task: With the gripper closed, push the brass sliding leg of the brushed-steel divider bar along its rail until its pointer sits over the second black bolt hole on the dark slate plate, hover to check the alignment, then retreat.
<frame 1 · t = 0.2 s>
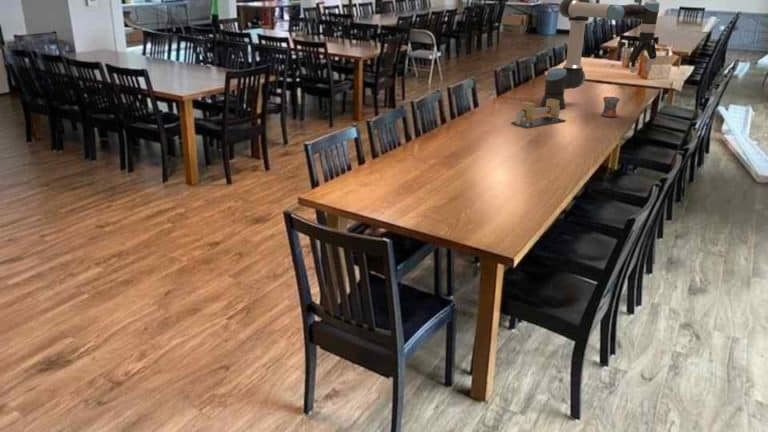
hand: (640, 71, 336), 28 cm above the table, fingers open, 13 cm apart
sliding leg: (552, 109, 344), point 7 cm above the table, slide at 5.0 cm
mug: (609, 116, 360), on the table
hole plate: (538, 122, 341), on the table
dividers bar: (537, 122, 342), resting on hole plate
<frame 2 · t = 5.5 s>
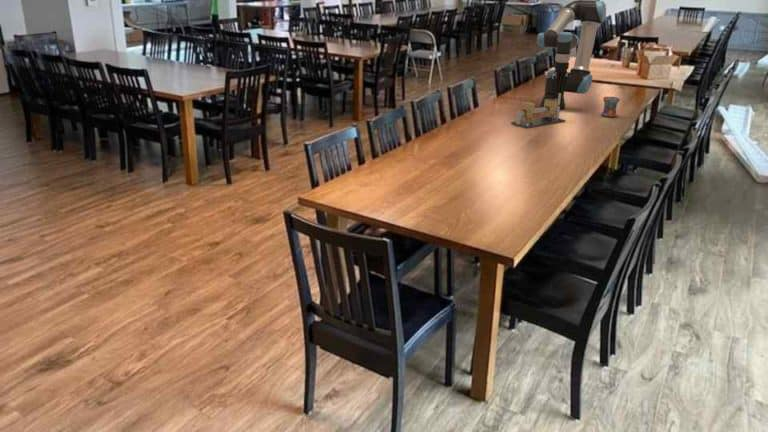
hand: (556, 104, 342), 10 cm above the table, fingers closed
sliding leg: (551, 109, 343), point 7 cm above the table, slide at 3.5 cm, touching gripper
everything else where it was.
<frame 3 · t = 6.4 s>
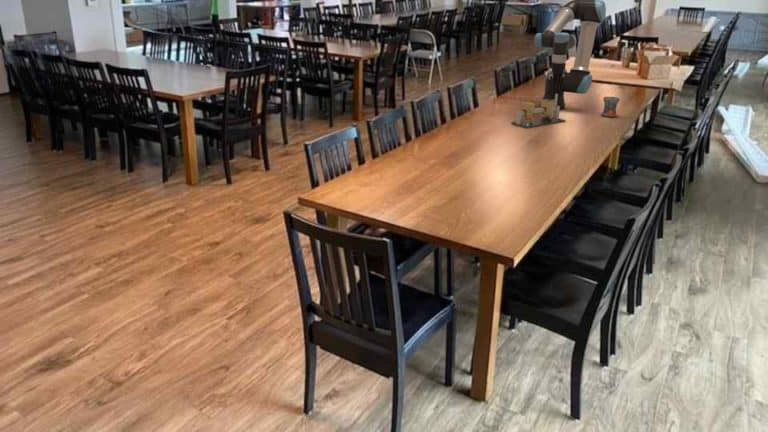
hand: (553, 105, 341), 9 cm above the table, fingers closed
sliding leg: (547, 109, 342), point 7 cm above the table, slide at 1.1 cm, touching gripper
everything else where it was.
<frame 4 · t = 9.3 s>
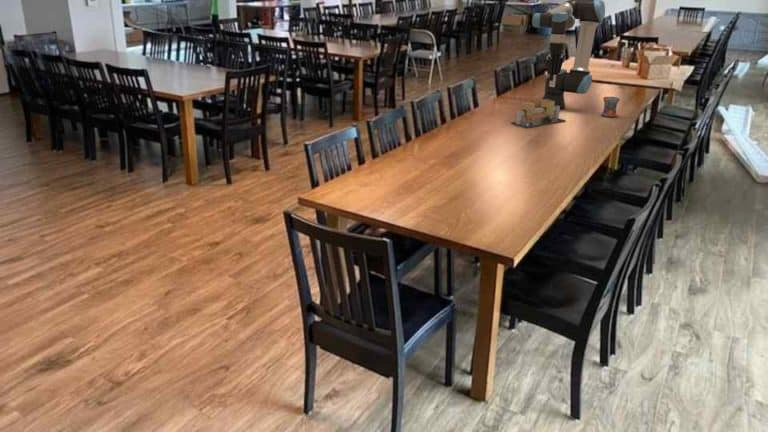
hand: (552, 86, 333), 20 cm above the table, fingers closed
sliding leg: (547, 109, 342), point 7 cm above the table, slide at 1.1 cm
everything else where it was.
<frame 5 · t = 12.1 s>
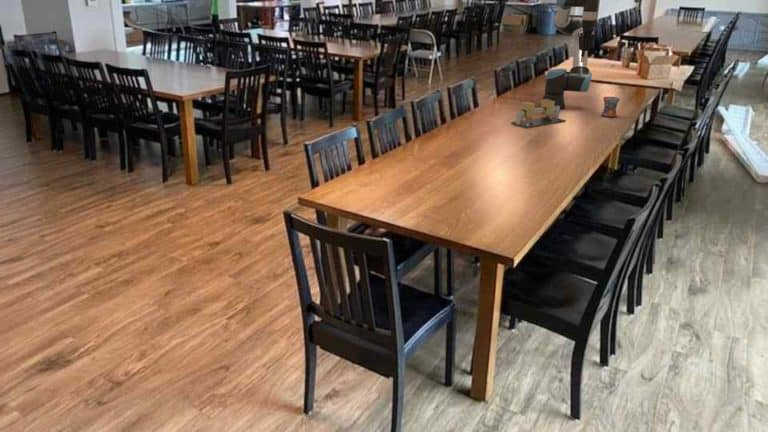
hand: (583, 62, 350), 30 cm above the table, fingers closed
nothing on the table moved.
at the end: sliding leg slide at 1.1 cm; sliding leg touching nothing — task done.
